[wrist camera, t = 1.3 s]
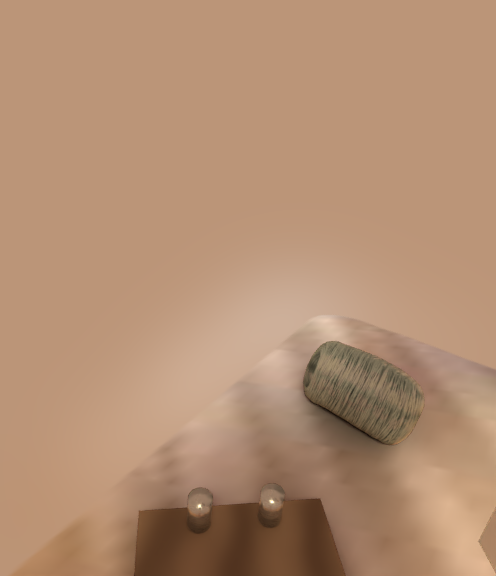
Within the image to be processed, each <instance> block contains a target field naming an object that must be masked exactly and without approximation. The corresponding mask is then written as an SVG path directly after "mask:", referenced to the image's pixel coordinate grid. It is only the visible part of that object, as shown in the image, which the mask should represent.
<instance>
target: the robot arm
mask: <svg viewBox="0 0 496 576" xmlns="http://www.w3.org/2000/svg"><path fill="white" fill-rule="evenodd" d="M479 543H480V545H481V547H482V549H483V550H484V552H485V554H486V556H487V558H488V560H489V561H490V563H491V565H492V567H493V569H494V571H495V572H496V508H495V510H494V512H493V514H492V516H491V518H490V520H489V521H488V523H487V525H486V527H485V529H484V531H483V533H482V535H481V537H480V539H479Z"/></svg>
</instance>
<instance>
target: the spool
mask: <svg viewBox="0 0 496 576" xmlns="http://www.w3.org/2000/svg"><path fill="white" fill-rule="evenodd" d="M303 384H304V392H305V395H306V396H307V397H308V398H309V399H310V400H311V401H312V402H313V403H315V404H319V405H320V406H322V407H324V408H326V409H328V410H329V411H331V412H332V413H334V414H336V415H338V416H339V417H341V418H342V419H344V420H346V421H347V422H349V423H350V424H352V425H354V426H355V427H357V428H358V429H360V430H362V431H364V432H365V433H367V434H368V435H370V436H371V437H373V438H375V439H377V440H379V441H381V442H382V443H383V444H387V445H394V444H398V443H400V442H401V441H403V440H404V439H406V438H407V437H408V436H409V435H410V433H411V432H412V430H413V428H414V427H415V425H416V423H417V421H418V419H419V417H420V415H421V413H422V410H423V408H424V394H423V391H422V388H421V387H420V385H419V384H418V383H417V382H416V381H415V380H414V379H413V378H411V377H410V376H409V375H408V374H406V373H405V372H404V371H402V370H401V369H399V368H397V367H395V366H394V365H392V364H390V363H388V362H386V361H385V360H383V359H381V358H379V357H377V356H374V355H372V354H370V353H367V352H364V351H362V350H360V349H357V348H354V347H351V346H348V345H345V344H343V343H341V342H338V341H330V342H326V343H324V344H322V345H321V346H320V347H319V348H318V349H317V350H316V352H315V353H314V354H313V356H312V358H311V359H310V361H309V364H308V366H307V369H306V372H305V376H304V381H303Z"/></svg>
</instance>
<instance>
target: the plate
mask: <svg viewBox="0 0 496 576" xmlns="http://www.w3.org/2000/svg"><path fill="white" fill-rule="evenodd" d="M258 509H259V503H248V504H233V505H219V506H212V516H211V526H210V528H209V529H208V530H207V531H206V532H204V533H200V534H197V533H193V532H192V531H190V530H189V528H188V526H187V511H188V508H175V509H161V510H146V511H139V518H138V531H137V545H136V559H135V572H134V576H345V573H344V570H343V567H342V564H341V561H340V558H339V555H338V551H337V548H336V545H335V542H334V539H333V536H332V533H331V530H330V527H329V524H328V521H327V518H326V515H325V512H324V509H323V506H322V503H321V500H320V499H306V500H291V501H284V504H283V509H282V515H281V521H280V523H279V525H278V526H276V527H274V528H267V527H264V526H263V525H261V524H260V522H259V521H258Z"/></svg>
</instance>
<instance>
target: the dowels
mask: <svg viewBox="0 0 496 576" xmlns="http://www.w3.org/2000/svg"><path fill="white" fill-rule="evenodd" d="M284 498H285V492H284V490H283V488H282V487H281V486H279V485H277V484H274V483H269V484H266V485H264V486H263V487H262V489H261V495H260V502H259V509H258V521H259V522H260V524H261V525H263V526H264V527H267V528H274V527H276V526H278V525H279V523H280V521H281V515H282V509H283V504H284ZM212 502H213V496H212V493H211V492H210V491H209V490H208V489H206V488H196V489H194V490H192V491H191V492H190V493H189V495H188V511H187V526H188V528H189V530H190V531H192V532H193V533H197V534H200V533H204V532H206V531H207V530H208V529H209V528H210V526H211V516H212Z"/></svg>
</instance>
